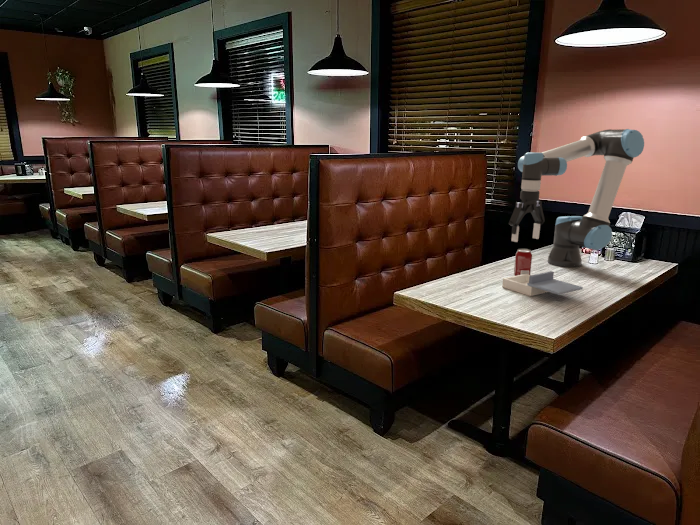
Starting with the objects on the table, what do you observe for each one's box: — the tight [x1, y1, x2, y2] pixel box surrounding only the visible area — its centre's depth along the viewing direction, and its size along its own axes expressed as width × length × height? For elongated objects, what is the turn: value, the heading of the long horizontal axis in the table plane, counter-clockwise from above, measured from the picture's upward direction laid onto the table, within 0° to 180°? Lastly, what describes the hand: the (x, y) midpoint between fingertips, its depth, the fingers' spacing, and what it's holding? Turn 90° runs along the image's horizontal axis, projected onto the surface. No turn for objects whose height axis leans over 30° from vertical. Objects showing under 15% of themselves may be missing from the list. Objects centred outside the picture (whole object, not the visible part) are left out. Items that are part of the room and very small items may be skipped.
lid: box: [527, 270, 584, 296], centre depth 190 cm, size 14×14×4 cm
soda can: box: [513, 248, 533, 276], centre depth 216 cm, size 7×7×12 cm
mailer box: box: [502, 274, 549, 297], centre depth 201 cm, size 14×14×4 cm
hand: (525, 240), depth 214 cm, fingers open, 13 cm apart
